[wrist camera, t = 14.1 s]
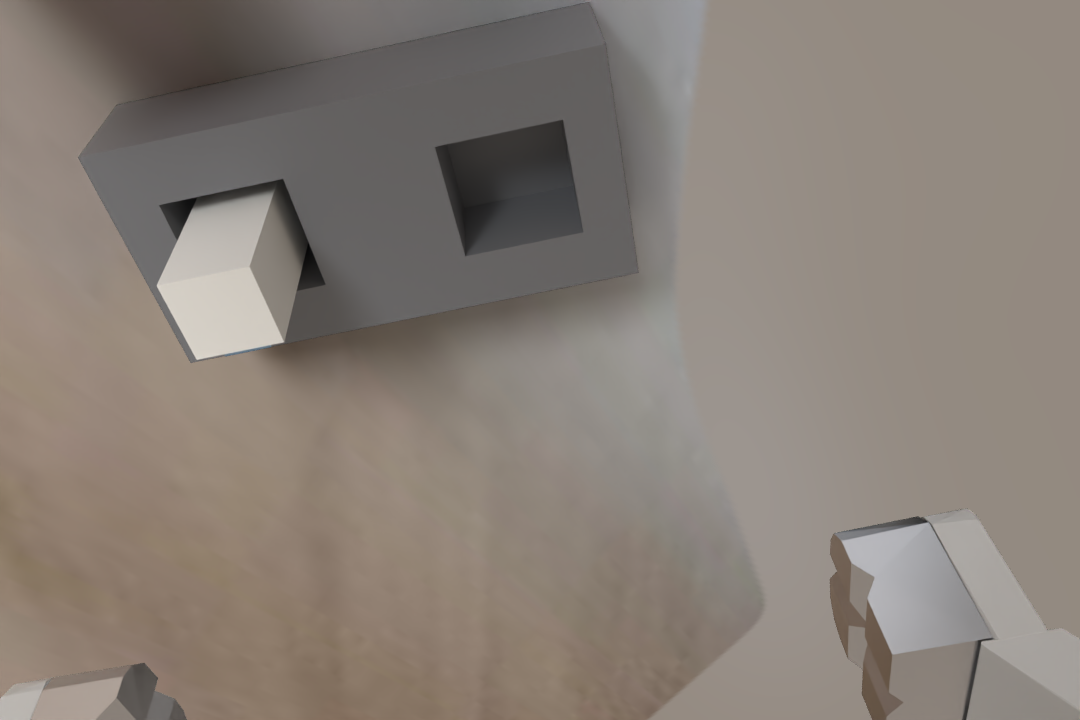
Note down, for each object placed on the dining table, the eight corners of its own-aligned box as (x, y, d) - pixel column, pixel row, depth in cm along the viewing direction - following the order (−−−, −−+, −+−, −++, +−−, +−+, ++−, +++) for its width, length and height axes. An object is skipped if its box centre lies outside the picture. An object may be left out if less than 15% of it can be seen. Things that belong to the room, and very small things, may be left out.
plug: (209, 171, 39) (156, 285, 32) (285, 154, 39) (249, 266, 32) (244, 247, 42) (202, 370, 34) (316, 232, 41) (289, 352, 34)
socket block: (116, 104, 38) (77, 157, 34) (588, 2, 37) (605, 43, 33) (213, 299, 44) (190, 362, 40) (621, 216, 43) (638, 272, 39)
